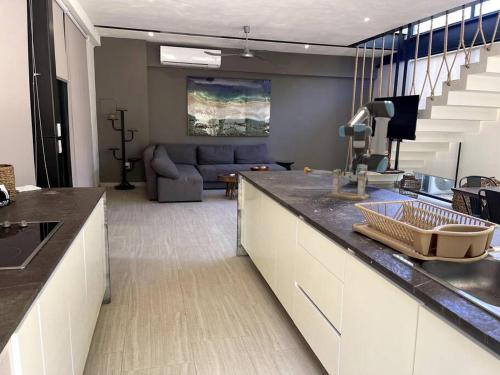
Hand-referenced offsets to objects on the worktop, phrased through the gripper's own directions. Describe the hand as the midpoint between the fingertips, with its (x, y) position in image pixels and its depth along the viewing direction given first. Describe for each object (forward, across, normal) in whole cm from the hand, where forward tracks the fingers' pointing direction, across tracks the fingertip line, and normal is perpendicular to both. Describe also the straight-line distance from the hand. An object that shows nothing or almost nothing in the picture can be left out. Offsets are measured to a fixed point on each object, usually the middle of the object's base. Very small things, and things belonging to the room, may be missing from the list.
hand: (357, 178), depth 261 cm
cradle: (+10, +17, 0) cm, 20 cm away
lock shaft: (-2, +17, -20) cm, 26 cm away
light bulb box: (+2, 0, 0) cm, 2 cm away
